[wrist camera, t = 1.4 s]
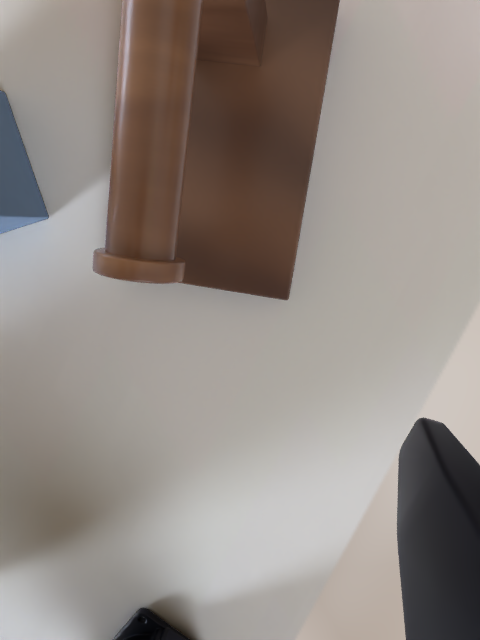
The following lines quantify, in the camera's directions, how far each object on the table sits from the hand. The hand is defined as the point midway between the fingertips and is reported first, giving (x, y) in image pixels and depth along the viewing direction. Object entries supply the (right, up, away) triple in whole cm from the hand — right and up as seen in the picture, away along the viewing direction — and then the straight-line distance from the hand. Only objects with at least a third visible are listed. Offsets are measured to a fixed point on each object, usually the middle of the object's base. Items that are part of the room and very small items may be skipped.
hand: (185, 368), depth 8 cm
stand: (0, +10, +13) cm, 16 cm away
